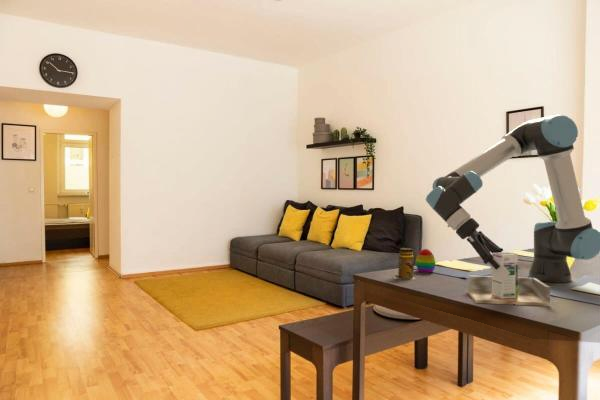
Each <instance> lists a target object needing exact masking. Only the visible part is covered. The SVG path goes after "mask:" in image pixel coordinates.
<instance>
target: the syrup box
mask: <svg viewBox="0 0 600 400" xmlns="http://www.w3.org/2000/svg"><path fill="white" fill-rule="evenodd" d="M491 254H492V256H493V257H494V258H496V259H497V260H498V261H499V262H500V263H501V264H502V265H503V266H504V267H505V268H506V269H507V270H508V271H509V272H510V274H509V275H508V276H506V277H505V278H504V279H503V278H502V277H501V276H500V275H499V274H498V273H497V272H496V271H495V270H494V269H493V268H492V267H491V276H492V295H494V296H496V297H499V298H501V299H504V298H518V277H519V254H517V253H514V252H510V251H502V252H498V253H491Z"/></svg>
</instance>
